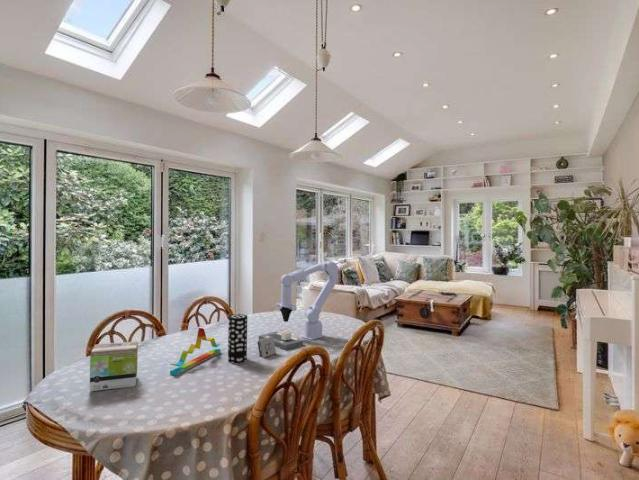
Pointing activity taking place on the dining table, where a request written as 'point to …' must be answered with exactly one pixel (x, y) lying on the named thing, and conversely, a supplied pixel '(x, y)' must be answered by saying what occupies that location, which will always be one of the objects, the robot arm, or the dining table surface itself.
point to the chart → (197, 360)
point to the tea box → (113, 365)
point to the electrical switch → (266, 347)
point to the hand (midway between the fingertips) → (285, 321)
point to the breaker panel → (283, 341)
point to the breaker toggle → (286, 335)
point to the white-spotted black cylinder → (237, 338)
